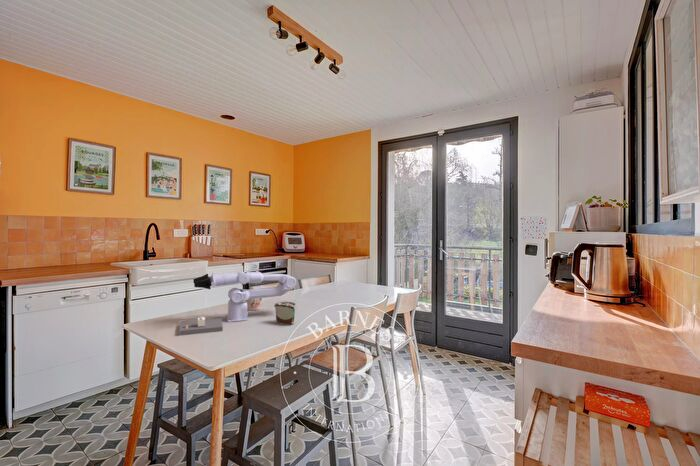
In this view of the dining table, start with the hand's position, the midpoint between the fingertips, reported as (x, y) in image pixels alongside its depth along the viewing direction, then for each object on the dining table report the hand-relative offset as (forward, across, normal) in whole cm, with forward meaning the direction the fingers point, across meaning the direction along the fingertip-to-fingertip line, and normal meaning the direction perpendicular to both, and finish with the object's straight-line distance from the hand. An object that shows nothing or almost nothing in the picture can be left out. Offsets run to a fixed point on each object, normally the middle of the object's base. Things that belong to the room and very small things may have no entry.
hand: (193, 282), depth 162 cm
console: (-2, +9, +20) cm, 22 cm away
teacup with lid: (-32, -18, +23) cm, 43 cm away
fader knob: (-2, +12, +17) cm, 21 cm away
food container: (-41, +17, +22) cm, 50 cm away
